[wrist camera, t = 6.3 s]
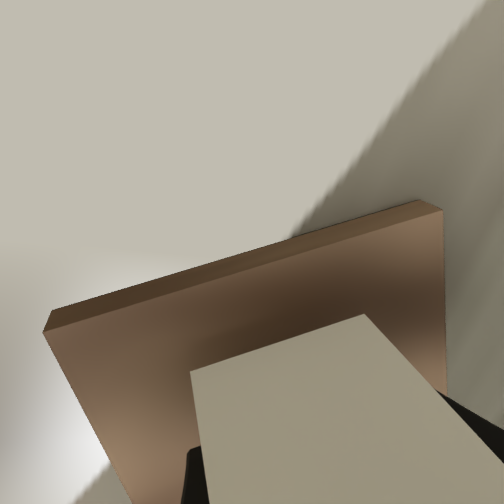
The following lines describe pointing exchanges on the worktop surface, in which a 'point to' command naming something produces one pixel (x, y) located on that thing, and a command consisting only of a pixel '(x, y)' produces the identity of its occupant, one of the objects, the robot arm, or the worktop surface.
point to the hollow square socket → (336, 427)
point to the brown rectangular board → (243, 330)
